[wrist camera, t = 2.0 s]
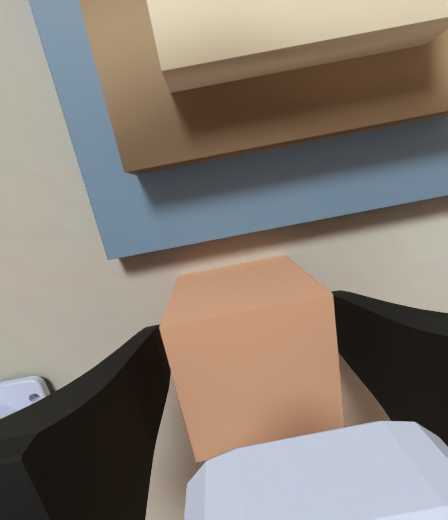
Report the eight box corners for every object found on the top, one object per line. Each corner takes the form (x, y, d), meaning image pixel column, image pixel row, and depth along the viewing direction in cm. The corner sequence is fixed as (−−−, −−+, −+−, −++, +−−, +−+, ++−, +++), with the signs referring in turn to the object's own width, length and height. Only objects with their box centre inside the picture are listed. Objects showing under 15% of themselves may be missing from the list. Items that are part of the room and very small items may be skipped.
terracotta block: (296, 347, 14) (345, 433, 9) (201, 366, 14) (196, 462, 9) (284, 254, 12) (332, 293, 7) (179, 274, 12) (158, 327, 7)
